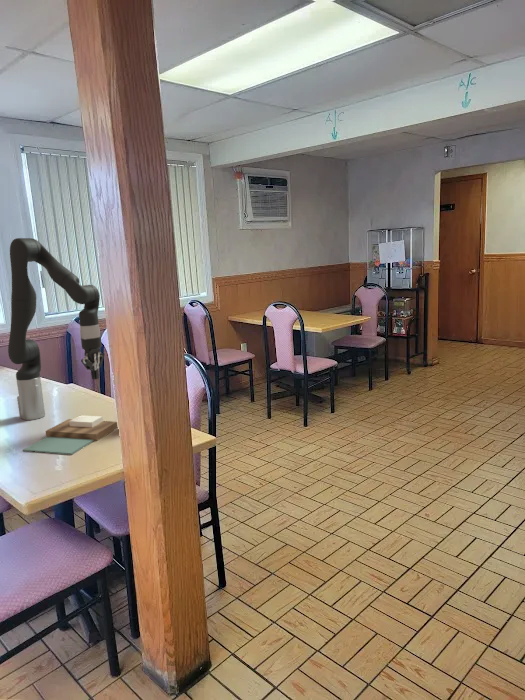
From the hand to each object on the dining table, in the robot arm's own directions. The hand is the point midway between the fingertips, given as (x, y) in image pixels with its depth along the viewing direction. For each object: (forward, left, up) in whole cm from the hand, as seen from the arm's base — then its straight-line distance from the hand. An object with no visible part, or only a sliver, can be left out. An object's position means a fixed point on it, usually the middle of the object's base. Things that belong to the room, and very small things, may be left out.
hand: (95, 378), depth 206 cm
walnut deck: (0, -12, -18) cm, 22 cm away
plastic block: (0, -9, -15) cm, 17 cm away
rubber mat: (0, -26, -18) cm, 32 cm away
